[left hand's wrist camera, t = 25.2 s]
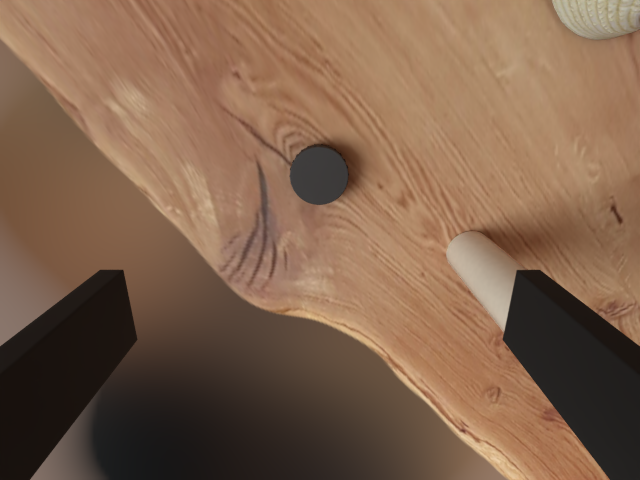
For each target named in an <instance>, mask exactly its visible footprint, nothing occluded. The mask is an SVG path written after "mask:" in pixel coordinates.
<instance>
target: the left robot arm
mask: <svg viewBox="0 0 640 480" xmlns="http://www.w3.org/2000/svg"><path fill="white" fill-rule="evenodd" d="M136 341H137V336H136V331H135V326H134V321H133V316H132V311H131V306H130V301H129V296H128V291H127V286H126V281H125V276H124V271H123V270H99V271H98V272H97V273H96V274H94V275H93V276H92V277H90V278H89V279H88V280H86V281H85V282H84V283H83V284H81V285H80V286H79V287H77V288H76V289H75V290H73V291H72V292H71V293H69V294H68V295H67V296H65V297H64V298H63V299H62V300H60V301H59V302H58V303H56V304H55V305H54V306H52V307H51V308H50V309H49V310H47V311H46V312H45V313H43V314H42V315H41V316H39V317H38V318H37V319H35V320H34V321H33V322H32V323H30V324H29V325H28V326H26V327H25V328H24V329H22V330H21V331H20V332H18V333H17V334H16V335H15V336H13V337H12V338H11V339H9V340H8V341H7V342H5V343H4V344H3V345H1V346H0V480H30V479H31V477H32V476H33V475H34V474H35V472H36V471H37V470H38V468H39V467H40V466H41V464H42V463H43V462H44V461H45V459H46V458H47V457H48V455H49V454H50V453H51V452H52V450H53V449H54V448H55V446H56V445H57V444H58V442H59V441H60V440H61V438H62V437H63V436H64V435H65V433H66V432H67V431H68V429H69V428H70V427H71V425H72V424H73V423H74V422H75V420H76V419H77V418H78V416H79V415H80V414H81V412H82V411H83V410H84V409H85V407H86V406H87V405H88V403H89V402H90V401H91V399H92V398H93V397H94V395H95V394H96V393H97V392H98V390H99V389H100V388H101V386H102V385H103V384H104V382H105V381H106V380H107V379H108V377H109V376H110V375H111V373H112V372H113V371H114V369H115V368H116V367H117V366H118V364H119V363H120V362H121V360H122V359H123V358H124V356H125V355H126V354H127V352H128V351H129V350H130V349H131V347H132V346H133V345H134V343H135V342H136ZM503 341H504V342H505V343H506V345H507V346H508V347H509V349H510V350H511V351H512V352H513V354H514V355H515V356H516V358H517V359H518V360H519V362H520V363H521V364H522V366H523V367H524V368H525V369H526V371H527V372H528V373H529V375H530V376H531V377H532V379H533V380H534V381H535V382H536V384H537V385H538V386H539V388H540V389H541V390H542V392H543V393H544V394H545V395H546V397H547V398H548V399H549V401H550V402H551V403H552V405H553V406H554V407H555V409H556V410H557V411H558V412H559V414H560V415H561V416H562V418H563V419H564V420H565V422H566V423H567V424H568V425H569V427H570V428H571V429H572V431H573V432H574V433H575V435H576V436H577V437H578V438H579V440H580V441H581V442H582V444H583V445H584V446H585V448H586V449H587V450H588V452H589V453H590V454H591V455H592V457H593V458H594V459H595V461H596V462H597V463H598V465H599V466H600V467H601V468H602V470H603V471H604V472H605V474H606V475H607V476H608V478H609V479H610V480H640V346H639V345H637V344H636V343H635V342H633V341H632V340H631V339H629V338H628V337H627V336H625V335H624V334H623V333H622V332H620V331H619V330H618V329H616V328H615V327H614V326H612V325H611V324H610V323H608V322H607V321H606V320H605V319H603V318H602V317H601V316H599V315H598V314H597V313H595V312H594V311H593V310H591V309H590V308H589V307H588V306H586V305H585V304H584V303H582V302H581V301H580V300H578V299H577V298H576V297H575V296H573V295H572V294H571V293H569V292H568V291H567V290H565V289H564V288H563V287H561V286H560V285H559V284H558V283H556V282H555V281H554V280H552V279H551V278H550V277H548V276H547V275H546V274H544V273H543V272H542V271H541V270H517V271H516V276H515V281H514V286H513V291H512V296H511V301H510V306H509V311H508V316H507V321H506V326H505V331H504V336H503Z"/></svg>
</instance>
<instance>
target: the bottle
mask: <svg viewBox="0 0 640 480" xmlns="http://www.w3.org/2000/svg"><path fill="white" fill-rule="evenodd" d="M447 261H448V263H449V265H450V266H451V267H452V268H453V270H454V271H455V272H456V273H457V275H458V276H459V277H460V279H461V280H462V281H463V282H464V284H465V285H466V286H467V287H468V289H469V290H470V291H471V292H472V294H473V295H474V296H475V297H476V299H477V300H478V301H479V302H480V304H481V305H482V306H483V307H484V309H485V310H486V311H487V313H488V314H489V315H490V316H491V318H492V319H493V320H494V321H495V323H496V324H497V325H498V326H499V328H500V329H501V330H502V331H503V333H504V331H505V326H506V321H507V316H508V311H509V306H510V301H511V296H512V291H513V286H514V281H515V276H516V271H517V270H528V269H526V268H525V267H524V266H523V265H521V264H520V263H519V262H518V261H516V260H515V259H514V258H513V257H512V256H510V255H509V254H508V253H507V252H505V251H504V250H503V249H502V248H500V247H499V246H498V245H497V244H495V243H494V242H493V241H492V240H490V239H489V238H488V237H487V236H486V235H484V234H483V233H480V232H477V231H468V232H464V233H461V234H459V235H458V236H456V237H455V238H454V239H453V240H452V241H451V242H450V244H449V246H448V249H447Z"/></svg>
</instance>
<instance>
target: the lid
mask: <svg viewBox="0 0 640 480" xmlns="http://www.w3.org/2000/svg"><path fill="white" fill-rule="evenodd" d="M345 162H346V161H345V159H343V157H342V156H341V153H340V154H339V153H338V152H337V151H336V149H333V148H331V147H329V146H325V145H322V144H321V145H315V144H314V145H313V146H310V147H309V146H308V147H307V148H305V149H304V150H301V152H300V153H299V154H298V155H296V158H295V160H293V162H292V163H293V164H292V167H291V168H290V170H291V171H290V180H291V184H292V187H293V189H294V191H295V192H296V194H297V195H298V196H299V197H300V198H301V199H303V200H304V201H306V202H308V203H311V204H316V205H322V204H327V203H330V202H332V201H334V200H336V199H337V198H338V197H339V196H340V195H341V194H342V193H343V192H344V190H345V188H346V186H347V182H348V175H349V174H348V169H347V168H348V167H347V165H346V163H345Z"/></svg>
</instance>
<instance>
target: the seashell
mask: <svg viewBox="0 0 640 480" xmlns="http://www.w3.org/2000/svg"><path fill="white" fill-rule="evenodd" d="M552 2H553V5H554V8H555V10H556V12H557V14H558V16H559V18H560V19H561V21H562V23H563V24H564V25H565V26H566V27H568V28H569V29H570V30H571V31H573V32H574V33H576V34H577V35H579V36H582V37H585V38H589V39H595V40H600V39H611V38H615V37H619V36H621V35H625V34H628V33H632V32H634V31H637V30H639V29H640V0H552Z"/></svg>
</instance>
